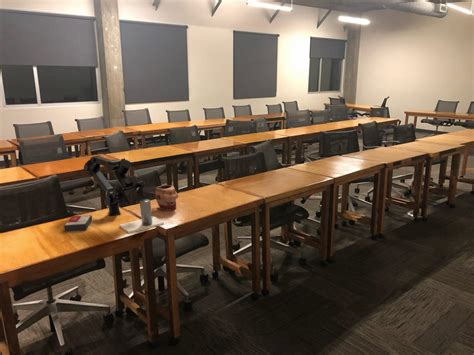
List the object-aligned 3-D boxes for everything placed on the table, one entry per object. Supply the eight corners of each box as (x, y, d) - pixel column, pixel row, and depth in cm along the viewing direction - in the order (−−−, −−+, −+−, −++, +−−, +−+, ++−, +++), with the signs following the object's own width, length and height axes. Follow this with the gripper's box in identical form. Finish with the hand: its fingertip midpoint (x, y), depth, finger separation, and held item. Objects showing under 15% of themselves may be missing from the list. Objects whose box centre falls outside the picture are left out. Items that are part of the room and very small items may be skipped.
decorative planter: (147, 207, 234) (145, 185, 230) (163, 202, 243) (161, 181, 240) (169, 214, 222) (167, 191, 218) (184, 208, 231) (183, 186, 227)
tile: (128, 233, 195) (128, 231, 195) (119, 226, 204) (119, 224, 204) (164, 224, 207) (163, 222, 207) (154, 217, 216) (154, 216, 216)
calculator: (91, 214, 214) (85, 222, 199) (92, 221, 214) (86, 230, 200) (71, 215, 212) (63, 224, 197) (72, 223, 213) (64, 232, 198)
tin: (140, 225, 202) (138, 202, 199) (143, 222, 207) (141, 199, 204) (150, 226, 201) (148, 202, 198) (153, 222, 207) (151, 199, 203)
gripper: (112, 173, 199) (127, 197, 195) (142, 167, 212) (156, 189, 208) (105, 185, 205) (119, 209, 201) (134, 178, 219) (148, 200, 215)
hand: (136, 201), depth 206 cm, fingers open, 9 cm apart
